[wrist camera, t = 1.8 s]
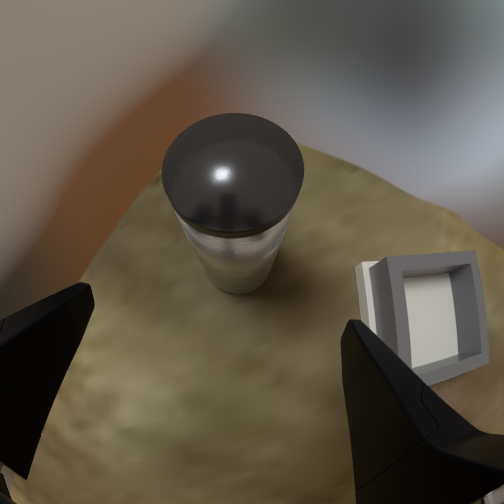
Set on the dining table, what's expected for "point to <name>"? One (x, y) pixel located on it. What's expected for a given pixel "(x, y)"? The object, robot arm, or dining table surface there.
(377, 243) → the dining table surface
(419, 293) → the holder
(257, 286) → the black-capped silver cylinder
